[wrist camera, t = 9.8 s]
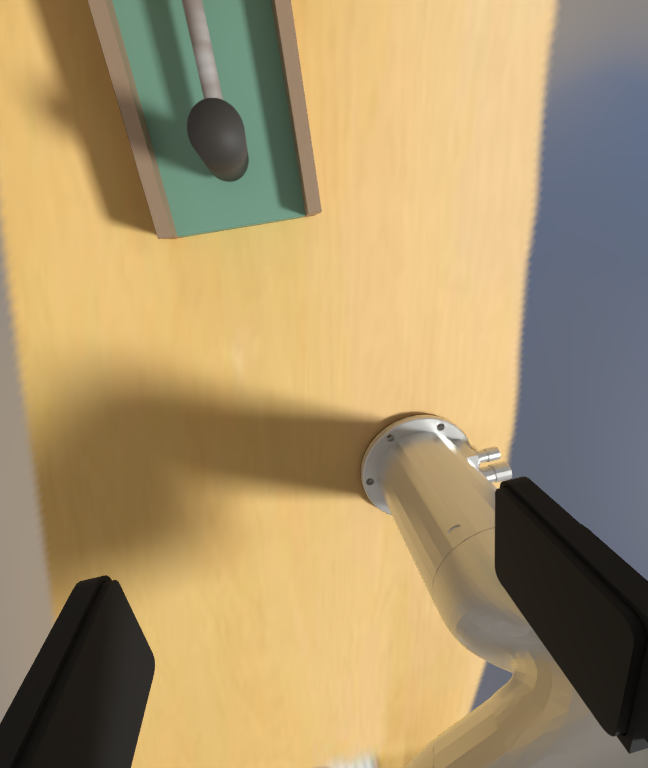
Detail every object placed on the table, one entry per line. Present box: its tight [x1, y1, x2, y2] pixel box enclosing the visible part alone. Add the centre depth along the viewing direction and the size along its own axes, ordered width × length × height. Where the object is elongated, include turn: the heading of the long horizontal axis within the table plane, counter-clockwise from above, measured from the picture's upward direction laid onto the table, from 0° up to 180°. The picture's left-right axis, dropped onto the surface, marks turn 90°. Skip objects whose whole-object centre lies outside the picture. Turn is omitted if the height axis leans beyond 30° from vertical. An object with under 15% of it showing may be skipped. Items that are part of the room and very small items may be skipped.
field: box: [88, 0, 322, 239], centre depth 25 cm, size 12×26×5 cm, turn 9°
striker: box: [182, 0, 249, 182], centre depth 22 cm, size 6×15×8 cm, turn 9°
